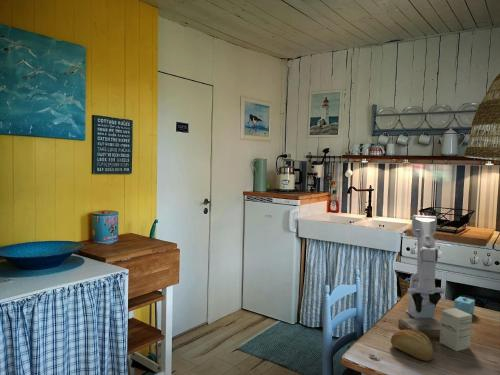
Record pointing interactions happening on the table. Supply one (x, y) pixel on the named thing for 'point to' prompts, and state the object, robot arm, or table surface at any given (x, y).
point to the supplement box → (455, 329)
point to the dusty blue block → (427, 309)
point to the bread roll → (413, 343)
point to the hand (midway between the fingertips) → (424, 311)
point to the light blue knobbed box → (464, 304)
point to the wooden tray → (422, 326)
